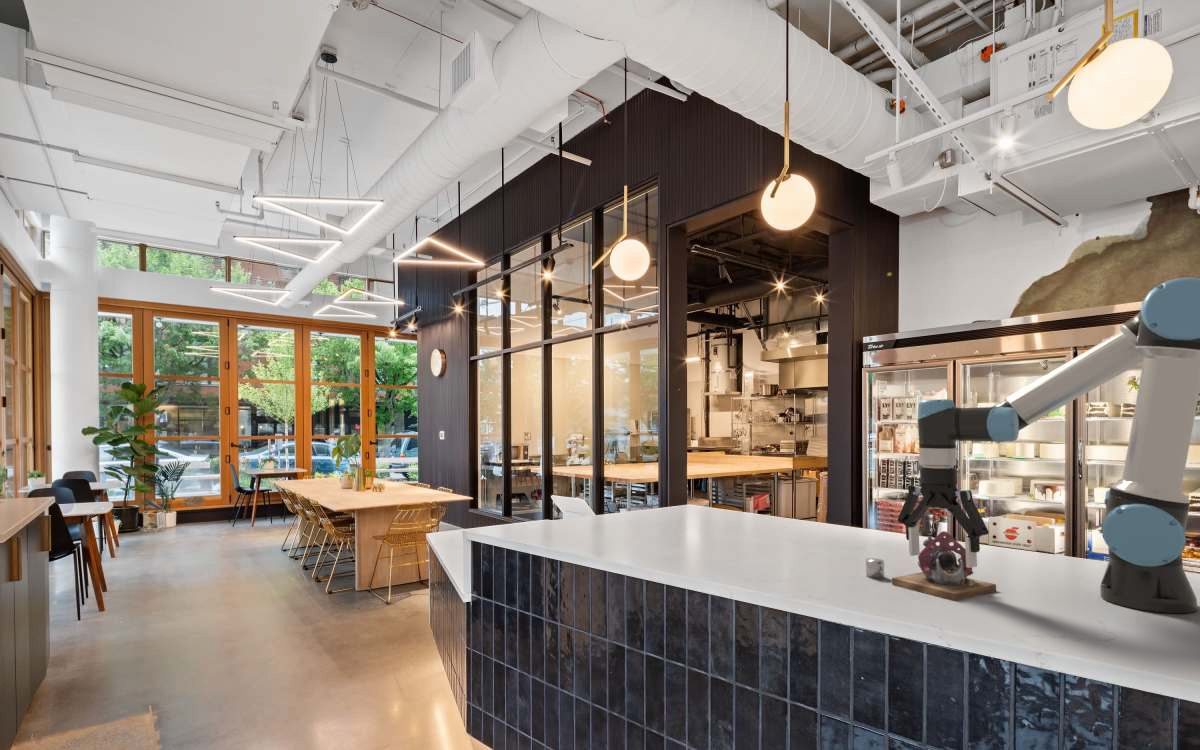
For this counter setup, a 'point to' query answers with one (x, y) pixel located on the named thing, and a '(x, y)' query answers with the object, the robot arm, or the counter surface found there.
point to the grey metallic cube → (874, 568)
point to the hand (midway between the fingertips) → (941, 560)
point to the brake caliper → (944, 561)
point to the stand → (943, 587)
